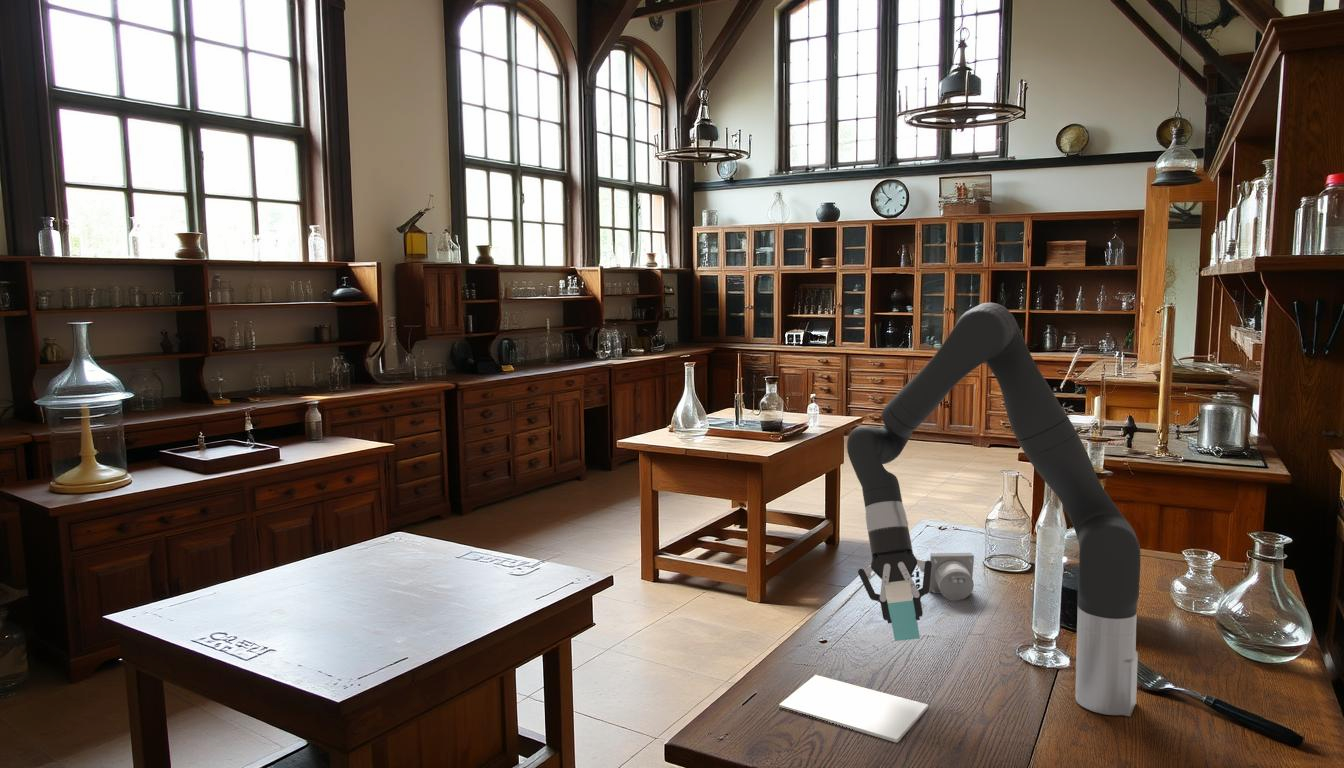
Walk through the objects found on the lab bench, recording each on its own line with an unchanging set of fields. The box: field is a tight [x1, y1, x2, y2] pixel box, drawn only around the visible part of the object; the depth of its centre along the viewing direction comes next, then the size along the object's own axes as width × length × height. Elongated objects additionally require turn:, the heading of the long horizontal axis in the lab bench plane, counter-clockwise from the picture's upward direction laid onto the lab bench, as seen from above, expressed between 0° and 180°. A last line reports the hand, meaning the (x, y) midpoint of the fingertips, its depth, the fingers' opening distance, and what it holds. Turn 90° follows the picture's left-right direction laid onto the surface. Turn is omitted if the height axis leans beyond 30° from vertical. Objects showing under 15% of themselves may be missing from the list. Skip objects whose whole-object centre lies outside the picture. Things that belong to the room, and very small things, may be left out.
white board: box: [778, 674, 929, 744], centre depth 156 cm, size 22×14×1 cm, turn 54°
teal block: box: [885, 580, 921, 642], centre depth 162 cm, size 4×4×10 cm
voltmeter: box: [911, 552, 975, 601], centre depth 204 cm, size 27×11×10 cm, turn 122°
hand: (904, 621), depth 161 cm, fingers closed on teal block, 4 cm apart
